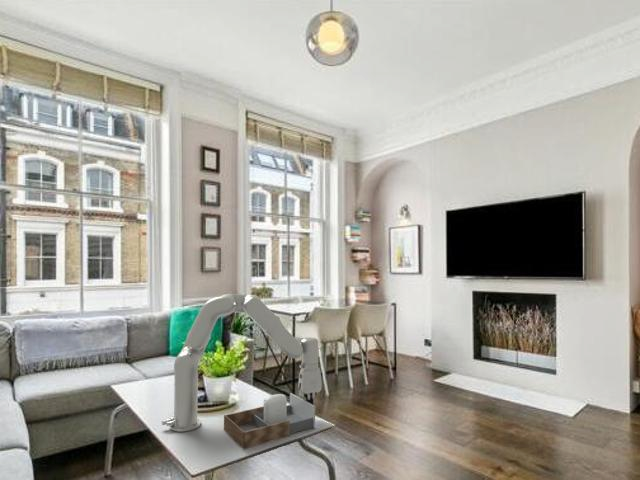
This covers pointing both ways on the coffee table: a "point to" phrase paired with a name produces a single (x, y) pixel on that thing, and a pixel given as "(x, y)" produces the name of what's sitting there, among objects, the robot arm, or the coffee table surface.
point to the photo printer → (275, 409)
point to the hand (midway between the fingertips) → (309, 407)
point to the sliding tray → (292, 415)
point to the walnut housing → (256, 435)
